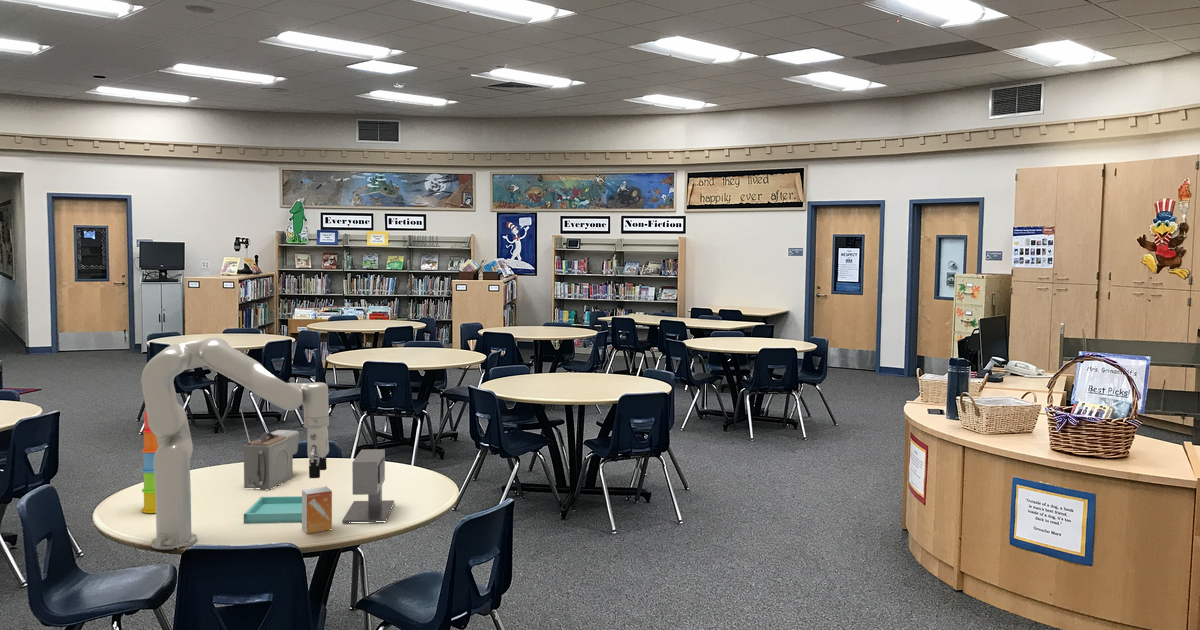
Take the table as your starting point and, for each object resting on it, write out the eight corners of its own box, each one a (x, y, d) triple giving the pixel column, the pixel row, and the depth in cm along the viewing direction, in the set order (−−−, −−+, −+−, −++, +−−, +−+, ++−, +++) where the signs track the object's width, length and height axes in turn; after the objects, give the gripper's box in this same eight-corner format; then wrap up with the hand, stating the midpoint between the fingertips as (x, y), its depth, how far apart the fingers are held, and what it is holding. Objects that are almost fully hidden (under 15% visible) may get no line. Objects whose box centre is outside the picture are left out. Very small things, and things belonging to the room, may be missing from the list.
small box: (306, 534, 263) (306, 494, 262) (301, 528, 268) (301, 489, 267) (332, 530, 267) (332, 490, 266) (327, 524, 272) (326, 485, 271)
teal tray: (312, 521, 275) (312, 512, 275) (243, 523, 272) (243, 514, 272) (325, 504, 295) (325, 495, 295) (261, 505, 292) (261, 496, 292)
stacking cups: (136, 514, 280) (134, 413, 277) (150, 505, 290) (148, 407, 288) (168, 514, 281) (166, 413, 278) (180, 505, 291) (178, 407, 288)
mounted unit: (385, 523, 275) (385, 463, 274) (342, 524, 273) (341, 463, 272) (394, 503, 297) (394, 447, 295) (354, 504, 295) (353, 448, 294)
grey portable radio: (300, 475, 333) (299, 401, 331) (268, 491, 310) (267, 411, 308) (272, 473, 335) (271, 399, 333) (238, 489, 311) (237, 410, 309)
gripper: (323, 426, 257) (324, 480, 258) (334, 415, 274) (335, 466, 275) (297, 427, 256) (299, 481, 257) (310, 416, 273) (312, 467, 275)
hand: (318, 473), depth 266 cm, fingers open, 9 cm apart
